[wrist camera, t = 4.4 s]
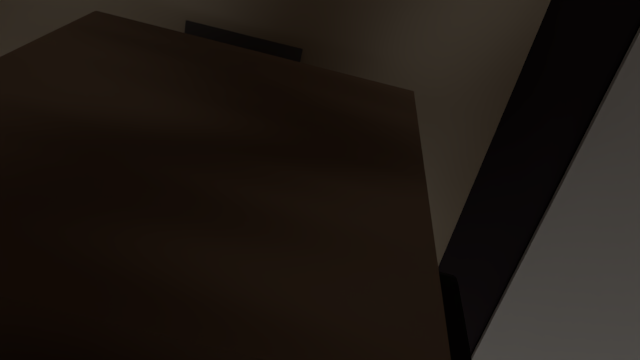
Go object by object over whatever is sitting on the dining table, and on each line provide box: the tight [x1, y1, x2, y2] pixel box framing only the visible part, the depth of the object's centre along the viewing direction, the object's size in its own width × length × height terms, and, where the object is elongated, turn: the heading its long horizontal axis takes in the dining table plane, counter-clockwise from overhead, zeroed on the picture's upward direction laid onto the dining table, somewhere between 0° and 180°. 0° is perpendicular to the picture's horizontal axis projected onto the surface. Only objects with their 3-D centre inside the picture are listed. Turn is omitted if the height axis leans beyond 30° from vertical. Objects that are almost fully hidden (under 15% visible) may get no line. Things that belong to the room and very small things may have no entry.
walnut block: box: [0, 11, 451, 360], centre depth 9 cm, size 6×6×7 cm
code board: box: [0, 0, 551, 266], centre depth 14 cm, size 12×18×1 cm, turn 167°
